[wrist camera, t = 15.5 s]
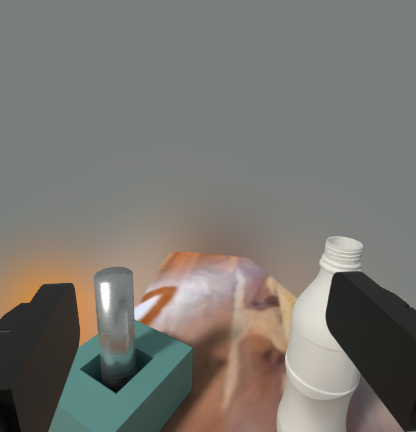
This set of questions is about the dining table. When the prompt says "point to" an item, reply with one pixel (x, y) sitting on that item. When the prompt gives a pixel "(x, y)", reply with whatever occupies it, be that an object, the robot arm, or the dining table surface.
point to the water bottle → (319, 353)
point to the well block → (126, 387)
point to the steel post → (115, 326)
